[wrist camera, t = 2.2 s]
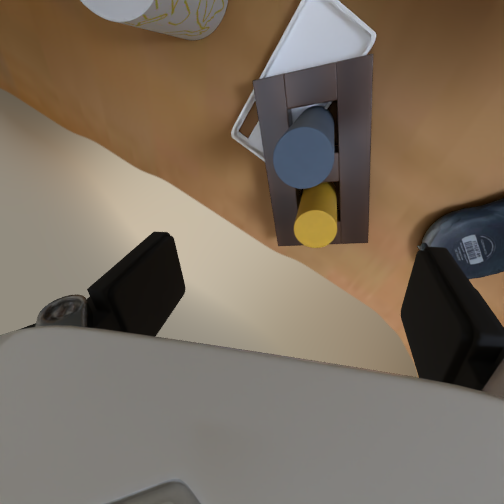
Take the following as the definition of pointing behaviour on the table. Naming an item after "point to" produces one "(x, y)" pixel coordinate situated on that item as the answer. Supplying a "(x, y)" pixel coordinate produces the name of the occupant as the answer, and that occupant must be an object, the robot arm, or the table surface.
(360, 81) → the stand
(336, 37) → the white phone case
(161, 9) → the cup
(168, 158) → the table surface
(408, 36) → the table surface
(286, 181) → the blue peg
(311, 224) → the mustard peg
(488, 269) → the electronic device
